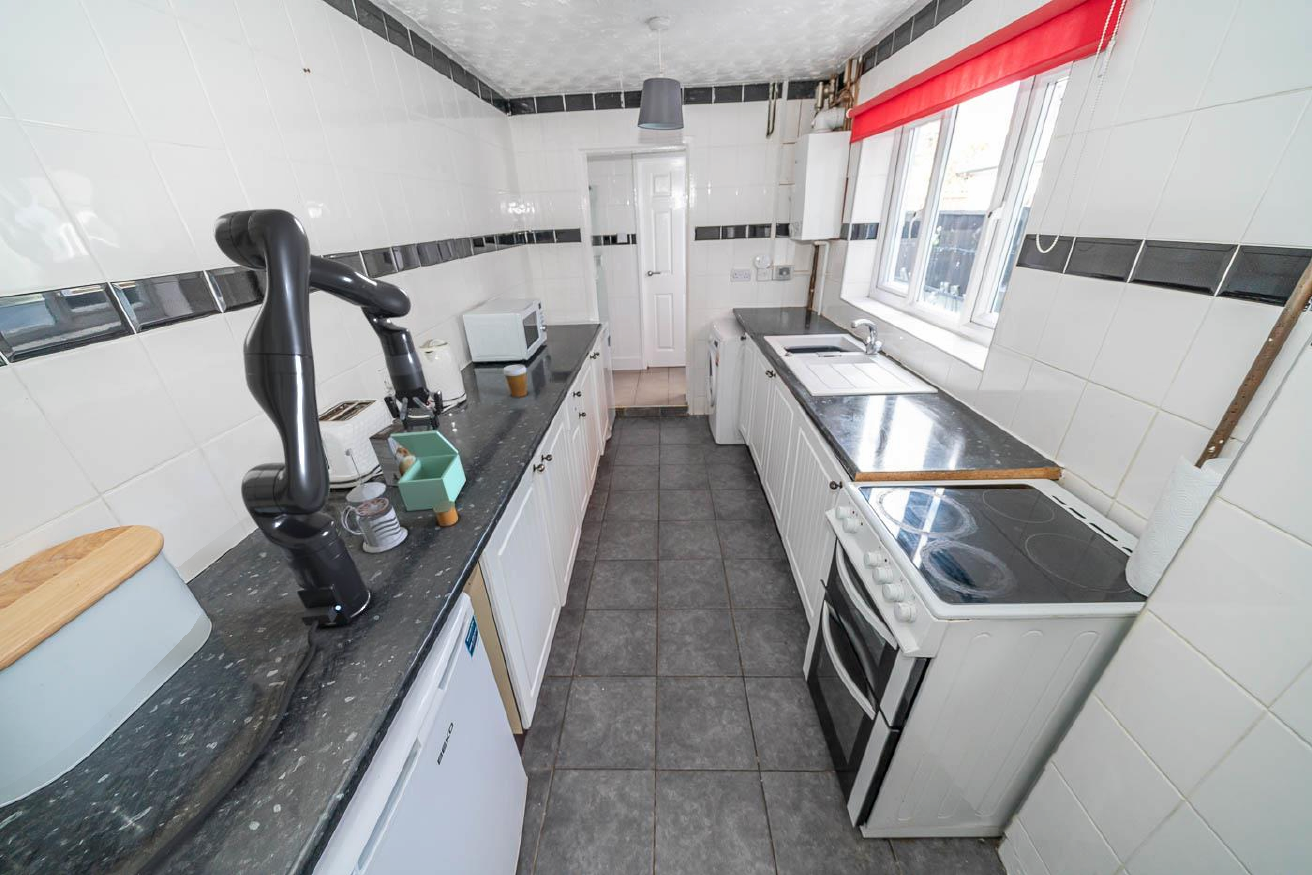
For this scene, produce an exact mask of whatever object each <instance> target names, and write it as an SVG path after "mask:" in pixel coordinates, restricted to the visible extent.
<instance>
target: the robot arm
mask: <svg viewBox="0 0 1312 875" xmlns="http://www.w3.org/2000/svg"><path fill="white" fill-rule="evenodd" d="M213 236H214V240H215V242H216V244H217V246H218V248H219V249H220V251H221V252H222V253H223V254H224V255H225V256H226V258H228V259H229V260H230V261H231V262H233V263H234V264H236V265H238V266H240V267H242V268H245V269H247V270H251V271H255V272H259V273H263V274H265V276H266V287H265V293H264V297H263V301H262V303H261V305H260V307H259V309H258V311H257V313H256V315H255V317H254V318H253V320H252V322H251V323H250V326H249V328H248V330H247V333H246V334H245V337H244V340H243V345H242V355H243V365H244V366H243V367H244V374H245V375H244V376H245V382H246V386H247V389H248V391H249V392H250V394H251V396H252V397H253V399H254V400H255V402H256V403H257V405H258V406H259V407H260V408H261V409H262V411H263V412H264V413H265V414H266V416H267V417H268V418H269V419H270V421H271V422H272V424H273V425H274V427H275V428H276V430H277V433H278V435H279V437H280V441H281V445H282V451H283V456H284V457H283V458H284V459H283V460H284V461H283V462H281V461H280V462H266V463H260V464H258V465H255V466H253V467H252V468H250V469H249V470H248V471H247V472H246V473H245V474H244V476H243V479H242V481H241V485H240V493H241V494H240V495H241V498H242V502H243V505H244V507H245V509H246V511H247V513H248V514H249V516H250V517H251V519H252V520H253V522H254V523H255V525H256V526H257V528H258V529H259V531H260V532H261V534H262V535H263V537H264V538H265V540H266V541H267V542H268V543H269V544H270V545H272V546H273V547H275V548H277V550H278V551H279V553H280V554H281V556H282V558H283V560H284V562H285V563H286V565H287V567H288V569H289V571H290V572H291V574H292V576H293V578H294V579H295V581H296V583H297V586H298V587H299V588H298V589H297V590H296V594H297V595H298V597H299V599H300V601H301V603H302V604H303V606H304V608H305V609H306V610H305V611H304V612H303V614H301V616H300V619H301V620H302V622H303V624H304V626H305V627H308V626H310V627H309V630H308V634H307V643H308V645H309V646H308V647H309V648H308V652H307V656H306V657H305V660H304V661H303V663H302V665H301V666H300V667H299V669H298V670H297V671H296V672H295V674H294V675H293V677H292V679H291V680H290V683H288V685H287V689H286V691H285V693H284V696H283V698H282V701H281V704H280V705H279V708H278V711H277V713H276V715H275V717H274V719H273V721H272V723H271V725H270V726H269V728H268V729H267V731H266V733H265V734H264V735H263V737H262V739H261V740H260V742H259V743H258V744H257V746H256V747H255V749H254V750H253V751H252V753H251V754H250V755H249V756H248V758H247V759H246V760H245V761H244V762H243V764H242V765H241V766H240V768H238V770H237V771H236V772H235V773H234V775H233V776H232V777H231V778H230V779H229V780H228V781H227V783H226V784H225V785H224V786H223V787H222V788H221V789H220V790H219V792H217V794H215V795H214V797H213V798H212V799H211V800H209V802H208V803H207V804H206V805H204V807H203V808H201V810H200V811H199V812H198V813H197V814H195V815H194V816H193V817H192V818H191V819H190V820H189V822H187V823H186V824H185V825H184V826H183V827H182V828H181V829H180V830H179V831H177V833H176V834H175V835H174V836H173V837H172V838H171V839H170V840H169V841H167V843H166V844H164V845H163V847H161V848H160V850H158V851H157V852H156V853H155V854H154V855H153V856H152V857H151V858H150V859H149V860H148V861H147V862H145V863H144V865H143V866H141V867H140V868H139V869H138V870H137V871H136V872H135V873H133V875H138V874H139V875H146V874H148V872H149V871H150V870H151V869H153V867H154V866H155V865H156V864H157V863H158V862H160V861H161V860H162V859H163V858H164V857H165V856H166V855H167V854H168V853H169V852H171V850H172V849H173V848H174V847H175V846H176V845H177V844H179V842H180V841H182V839H183V838H184V837H185V836H186V835H187V834H188V833H189V832H190V831H191V830H192V829H193V828H194V827H195V826H196V825H197V824H198V823H200V821H201V820H202V819H203V818H204V817H206V816H207V814H209V812H211V811H212V810H213V809H214V808H215V806H217V804H219V802H220V801H221V800H222V799H223V798H224V797H225V796H226V795H227V794H228V793H229V791H231V789H233V787H234V786H235V785H236V784H237V783H238V782H239V780H240V779H241V778H242V777H243V776H244V775H245V773H246V772H247V771H248V769H249V768H250V767H251V766H252V764H253V763H254V762H255V761H256V760H257V759H258V757H259V756H260V754H261V753H262V751H264V749H265V748H266V747H267V744H268V743H269V741H270V740H271V738H272V737H273V735H274V733H275V732H276V730H277V728H278V727H279V726H280V723H281V721H282V719H283V717H284V715H285V713H286V711H287V709H288V707H289V703H290V700H291V698H292V695H293V692H294V690H295V687H296V685H297V683H298V682H299V679H300V678H301V677H302V675H303V674H304V672H305V671H306V669H307V667H308V666H309V664H310V662H311V660H312V659H313V656H314V655H315V653H316V648H317V642H316V641H315V635H316V634H315V633H316V630H317V628H324V627H336V626H344V625H345V626H346V625H349V624H350V623H351V621H352V620H353V619H355V618H357V617H358V616H359V615H361V614H362V613H363V612H364V611H365V610H366V609H367V608H368V606H369V605H370V604H371V600H372V595H371V592H370V590H368V588H367V585H366V583H365V581H364V578H363V577H362V575H361V572H360V570H359V568H358V565H357V563H356V562H355V558H354V557H353V555H352V553H351V551H350V548H349V547H348V544H347V542H346V539H345V537H344V536H343V533H342V531H341V529H340V526H339V525H338V522H337V520H336V519H335V517H333V516H332V515H329V514H327V513H324V512H321V510H322V509H323V508H324V507H325V506H326V505H327V503H328V501H329V497H330V491H331V480H330V472H329V468H328V462H327V457H326V452H325V448H324V443H323V438H322V432H321V426H320V418H319V412H318V410H319V409H318V402H317V391H316V371H315V360H314V358H315V357H314V351H313V344H312V331H311V312H310V293H311V292H310V291H311V289H310V288H313V289H316V290H318V291H321V292H324V293H326V294H328V295H331V296H333V297H335V298H337V299H340V300H341V301H344V302H347V303H349V304H351V305H352V306H353V305H354V306H356V307H360V309H361V312H362V314H363V316H364V317H365V318H366V320H367V322H368V323H369V325H370V326H371V328H372V329H373V332H374V333H375V334H376V336H377V337H378V339H379V342H380V343H379V344H380V346H381V349H382V351H383V356H384V361H385V366H386V369H387V371H388V372H387V373H388V375H389V378H390V381H391V384H392V387H393V390H394V394H391V393H389V394H388V395H386V396H385V397H384V398H383V400H384V403H385V405H386V407H387V409H388V411H389V413H390V415H391V417H392V418H393V419H399V420H401V423H402V425H403V426H404V429H405V430H407V431H408V426H407V421H408V420H411V416H409V414H410V410H412V409H422V411H423V412H424V413H426V414H427V415H428V416H429V418H430V422H431V430H432V431H433V430H437V431H438V429H439V427H440V420H439V416H441V414H442V413H443V412H444V410H445V409H444V408H445V407H444V401H443V393H442V391H441V390H437V391H430V389H429V388H428V387H427V381H426V378H425V375H424V374H425V373H424V371H423V366H422V363H421V360H420V358H419V354H418V353H417V350H416V346H415V343H414V340H413V337H412V333H411V331H410V329H409V328H407V327H404V326H399V325H396V324H394V323H393V322H392V321H391V319H398V318H399V319H400V318H403V317H406V316H407V315H408V314H409V313H410V311H411V310H412V309H411V308H412V303H411V299H410V296H409V295H408V294H407V292H405V290H404V289H403V288H401V287H399V286H398V285H396V284H393V283H389V282H387V281H383V280H381V279H377V278H374V277H373V278H372V277H370V276H368V275H366V274H365V273H363V272H361V271H360V270H358V269H356V268H354V267H352V266H351V265H348V264H345V263H343V262H340V261H338V260H334V259H331V258H326V257H323V256H320V255H315V254H312V253H311V247H310V241H309V237H308V234H307V231H306V229H305V227H304V226H303V224H302V223H301V221H300V220H299V219H298V218H297V217H296V216H295V215H294V214H293V213H291V212H290V211H288V210H285V209H281V208H280V209H279V208H263V209H261V208H259V209H247V210H245V209H244V210H236V211H235V210H234V211H230V212H227V213H223V214H222V215H219V216H218V217H217V219H216V220H215V222H214V224H213ZM430 398H431V400H432V401H434V405H433V403H432V402H431V401H430V400H429V399H430ZM397 401H398V402H399V403H400V404H401V407H400V408H399V406H398V404H397ZM411 432H414V427H412V430H411Z"/></svg>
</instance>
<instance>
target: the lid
mask: <svg viewBox="0 0 1312 875" xmlns="http://www.w3.org/2000/svg"><path fill="white" fill-rule="evenodd" d="M407 426H408V431H407V433H397V434H391V436H390V437H391V438H393V439H394V440H395V441H396V442H398V443H399V444H400V445H402V446H403V447H404V448H405V449H407V450H408V451H409V452H410V453H412V454H413V455H414V456H416V457H431V456H443V455H455V454H459V451H458V450H457V448H455V446H453V444H451V442H450V441H449V440H447V438H445V437H444V436H443V434H442V433H440V432H439V430H438V429H437V430H433V429H432V425H431V422H430V417H429V418H419V419H410V420H408V421H407ZM425 426H426V430H423V431H412V432H411V430H412V427H413V428H414V427H425Z"/></svg>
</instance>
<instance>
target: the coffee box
mask: <svg viewBox="0 0 1312 875" xmlns="http://www.w3.org/2000/svg"><path fill="white" fill-rule="evenodd" d="M397 433H407V430H405V429H404V426H403V423H402V424H400V423H396V424H394V423H391V424H389V425H387V426H386V427H384V428H382V429H380V430H378V431H377V432H376V433H374V434H373V435H371V436H369V437H368V440H369V441H370V444H371V446H372V449H373V451H374V454H375V456H376V460H377V462H378V464H379V467H380V470H381V472H382V474H383V477H384V480H385V482H386V486H391V487H398V484H397V483H398V482H399V480H400V479H401V478H402V477H403V475H404V474H405V473H406V471H407V470H408V469H409V468H410V466H411V465H412V464H413V463H414V461H415V460H416V459H417V458H420V457H416V456H414V455H413V454H412V453H410V452H409V451H408V450H407V449H405V448H404V447H403V446H402V445H400V444H399V443H398V442H396V441H395V440H394V439H393V438H391V437H390V436H391V434H397Z"/></svg>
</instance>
